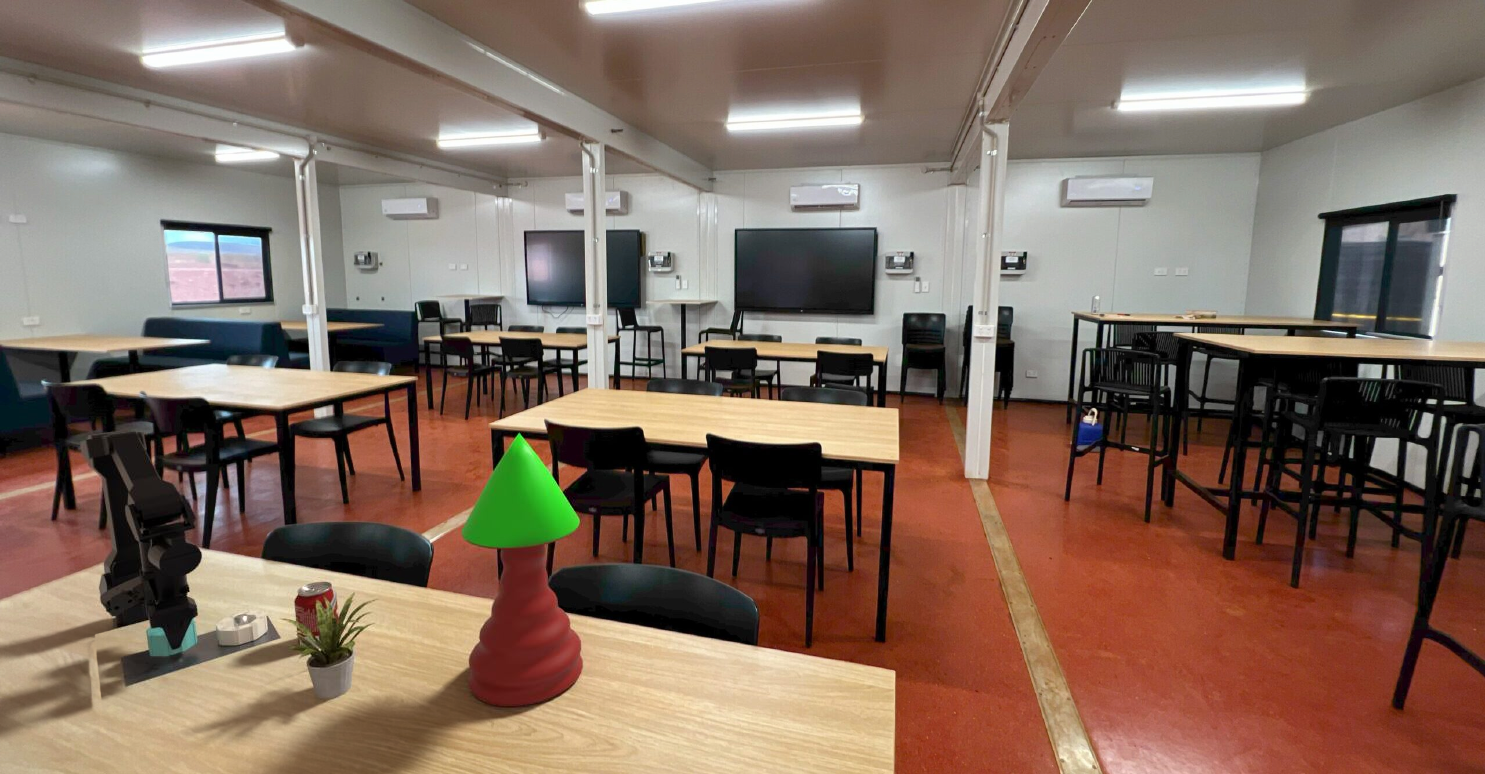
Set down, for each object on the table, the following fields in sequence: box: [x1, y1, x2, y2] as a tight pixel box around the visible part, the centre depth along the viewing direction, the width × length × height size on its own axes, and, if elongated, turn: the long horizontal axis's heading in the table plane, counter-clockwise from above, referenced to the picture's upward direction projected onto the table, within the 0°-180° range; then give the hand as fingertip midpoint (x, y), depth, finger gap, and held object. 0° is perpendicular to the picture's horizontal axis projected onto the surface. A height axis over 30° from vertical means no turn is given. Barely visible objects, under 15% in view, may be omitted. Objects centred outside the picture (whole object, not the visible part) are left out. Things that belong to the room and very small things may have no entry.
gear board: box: [120, 614, 282, 687], centre depth 122 cm, size 12×22×6 cm, turn 136°
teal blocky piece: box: [145, 618, 198, 657], centre depth 119 cm, size 7×7×4 cm
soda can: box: [293, 581, 339, 650], centre depth 125 cm, size 7×7×12 cm
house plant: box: [279, 592, 378, 700], centre depth 112 cm, size 14×14×16 cm
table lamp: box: [460, 432, 584, 707], centre depth 115 cm, size 20×20×45 cm
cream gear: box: [215, 610, 268, 646], centre depth 127 cm, size 8×8×3 cm
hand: (173, 640), depth 119 cm, fingers closed on teal blocky piece, 7 cm apart
